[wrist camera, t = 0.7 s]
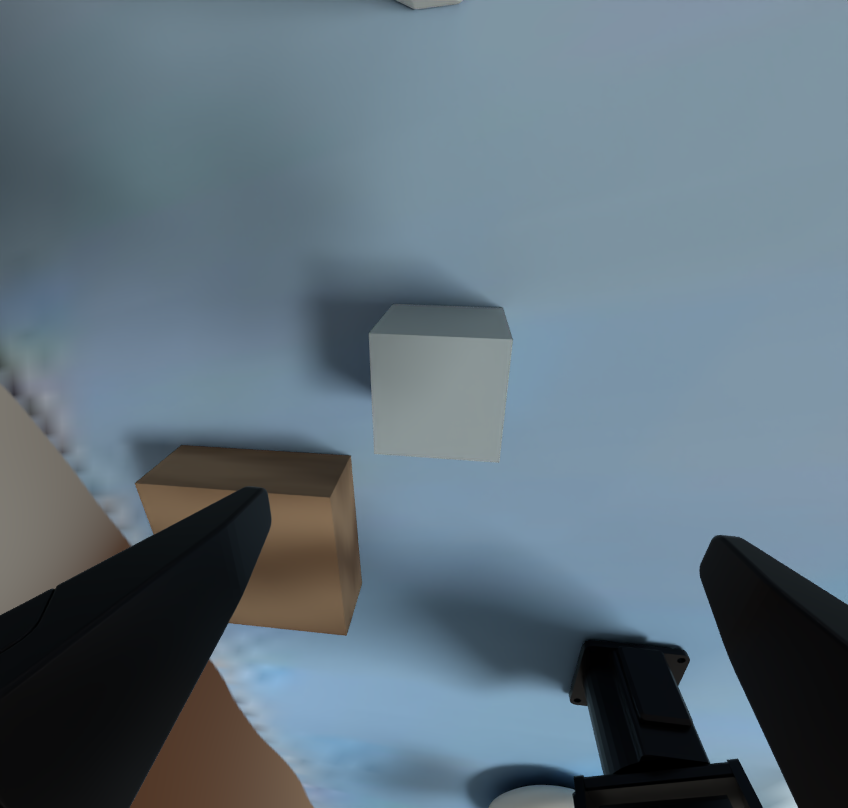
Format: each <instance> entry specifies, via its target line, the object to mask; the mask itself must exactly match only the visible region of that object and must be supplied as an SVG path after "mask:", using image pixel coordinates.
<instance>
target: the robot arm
mask: <svg viewBox="0 0 848 808" xmlns="http://www.w3.org/2000/svg"><path fill="white" fill-rule="evenodd" d="M271 522H272V517H271V510H270V504H269V497H268V493H267V490H266V489H265V488H262V487H253V486H246V487H243V488H241V489H239V490H237V491H236V492H234V493H232V494H230V495H228V496H226V497H224V498H222V499H220V500H219V501H217V502H215V503H213V504H211V505H209V506H207V507H205V508H203V509H201V510H200V511H198V512H196V513H194V514H192V515H190V516H188V517H186V518H184V519H183V520H181V521H179V522H177V523H175V524H173V525H171V526H169V527H167V528H165V529H164V530H162V531H160V532H158V533H156V534H154V535H152V536H150V537H148V538H147V539H145V540H143V541H141V542H139V543H137V544H135V545H133V546H131V547H129V548H128V549H126V550H124V551H122V552H120V553H118V554H116V555H114V556H112V557H111V558H109V559H107V560H105V561H103V562H101V563H99V564H97V565H95V566H94V567H92V568H90V569H88V570H86V571H84V572H82V573H80V574H78V575H76V576H75V577H73V578H71V579H69V580H67V581H65V582H63V583H61V584H59V585H58V586H57V587H56V589H50V590H48V591H46V592H44V593H42V594H40V595H38V596H36V597H35V598H33V599H31V600H29V601H27V602H25V603H23V604H21V605H19V606H17V607H15V608H13V609H12V610H10V611H8V612H6V613H4V614H2V615H0V808H130V806H131V804H132V802H133V800H134V798H135V797H136V795H137V793H138V791H139V789H140V787H141V785H142V783H143V782H144V780H145V778H146V776H147V774H148V772H149V770H150V768H151V767H152V765H153V763H154V761H155V759H156V757H157V755H158V754H159V752H160V750H161V748H162V746H163V744H164V742H165V740H166V739H167V737H168V735H169V733H170V731H171V729H172V727H173V726H174V724H175V722H176V720H177V718H178V716H179V714H180V712H181V711H182V709H183V707H184V705H185V703H186V701H187V699H188V697H189V696H190V694H191V692H192V690H193V688H194V686H195V684H196V682H197V681H198V679H199V677H200V675H201V673H202V671H203V669H204V668H205V666H206V664H207V662H208V660H209V658H210V656H211V655H212V653H213V651H214V649H215V647H216V645H217V643H218V642H219V640H220V638H221V636H222V634H223V632H224V630H225V628H226V627H227V625H228V623H229V621H230V619H231V617H232V615H233V614H234V612H235V610H236V608H237V606H238V604H239V602H240V600H241V598H242V596H243V594H244V591H245V589H246V587H247V584H248V582H249V580H250V577H251V575H252V572H253V570H254V567H255V565H256V562H257V560H258V558H259V555H260V553H261V550H262V548H263V545H264V543H265V540H266V538H267V536H268V533H269V531H270V528H271ZM699 571H700V578H701V581H702V584H703V587H704V590H705V593H706V595H707V598H708V601H709V604H710V607H711V610H712V612H713V615H714V618H715V621H716V624H717V627H718V629H719V632H720V635H721V638H722V641H723V644H724V646H725V649H726V651H727V654H728V657H729V659H730V661H731V664H732V666H733V668H734V670H735V673H736V675H737V677H738V679H739V681H740V684H741V686H742V688H743V690H744V692H745V694H746V696H747V699H748V701H749V703H750V705H751V707H752V709H753V711H754V714H755V716H756V718H757V720H758V722H759V724H760V727H761V729H762V731H763V733H764V735H765V737H766V739H767V742H768V744H769V746H770V748H771V750H772V752H773V755H774V757H775V759H776V761H777V763H778V765H779V767H780V770H781V772H782V774H783V776H784V778H785V780H786V783H787V785H788V787H789V789H790V791H791V793H792V795H793V798H794V800H795V802H796V804H797V806H798V808H848V605H847V604H846V603H844V602H842V601H841V600H839V599H838V598H836V597H835V596H833V595H831V594H830V593H828V592H827V591H825V590H823V589H822V588H820V587H819V586H817V585H816V584H814V583H812V582H811V581H809V580H808V579H806V578H804V577H803V576H801V575H800V574H798V573H796V572H795V571H793V570H792V569H790V568H789V567H787V566H785V565H784V564H782V563H781V562H779V561H777V560H776V559H774V558H773V557H771V556H770V555H768V554H766V553H765V552H763V551H762V550H760V549H758V548H757V547H755V546H754V545H752V544H751V543H749V542H747V541H746V540H744V539H742V538H740V537H735V536H726V535H717V536H715V537H714V538H713V539H712V540H711V542H710V544H709V547H708V549H707V551H706V553H705V555H704V558H703V560H702V562H701V564H700V569H699ZM689 662H690V658H689V656H688V654H687V652H686V651H684V650H681V649H672V648H663V647H653V646H644V645H635V644H625V643H616V642H606V641H597V640H587V641H585V642H584V643H583V645H582V649H581V652H580V656H579V660H578V663H577V667H576V670H575V674H574V677H573V681H572V684H571V688H570V692H569V698H570V702H571V703H572V704H575V705H583V706H588V709H589V714H590V718H591V722H592V727H593V731H594V735H595V740H596V744H597V748H598V753H599V757H600V761H601V766H602V770H603V774H604V775H601V776H592V777H584V776H583V775H581V776H574V785H575V792H574V793H573V794H572V796H573V801H574V808H763V807H762V805H761V803H760V801H759V799H758V797H757V795H756V793H755V791H754V789H753V787H752V785H751V783H750V781H749V779H748V778H747V776H746V774H745V772H744V770H743V768H742V766H741V764H740V762H739V760H738V759H730V760H727V762H724V763H714V764H710V762H709V759H708V757H707V755H706V752H705V750H704V748H703V745H702V743H701V741H700V738H699V736H698V734H697V731H696V729H695V727H694V724H693V721H692V718H691V716H690V713H689V711H688V709H687V706H686V704H685V702H684V699H683V697H682V695H681V692H680V690H679V688H678V685H679V683H680V681H681V679H682V677H683V675H684V672H685V670H686V668H687V666H688V664H689Z"/></svg>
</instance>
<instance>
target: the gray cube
mask: <svg viewBox="0 0 848 808" xmlns="http://www.w3.org/2000/svg"><path fill="white" fill-rule="evenodd" d="M512 343H513V338H512V335H511V332H510V329H509V325H508V322H507V319H506V316H505V312H504V309H503V308H495V307H467V306H439V305H412V304H392V306H391V307H390V308H389V309H388V311H387V312H386V313H385V314H384V315H383V317H382V318H381V319H380V320H379V321H378V323H377V324H376V325H375V326H374V328H373V329H372V330H371V331H370V332H369V349H370V371H371V392H372V414H373V435H374V454H384V455H398V456H412V457H427V458H441V459H455V460H470V461H484V462H498V463H499V460H500V451H501V442H502V433H503V424H504V415H505V406H506V397H507V388H508V379H509V370H510V361H511V352H512Z"/></svg>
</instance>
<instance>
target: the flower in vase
mask: <svg viewBox="0 0 848 808" xmlns="http://www.w3.org/2000/svg"><path fill="white" fill-rule="evenodd" d="M574 792H575V790H574V789H570V788H566V787H561V786H553V785H531V786H525V787H520V788H516V789H513V790H511V791H508V792H505V793H503V794H501V795H499V796H498V797H497V798H495V799H494V800H493V801H492V802H491V804H490V806H489V808H574V801H573V796H572V794H573V793H574Z"/></svg>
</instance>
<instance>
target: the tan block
mask: <svg viewBox="0 0 848 808" xmlns="http://www.w3.org/2000/svg"><path fill="white" fill-rule="evenodd" d="M135 485H136V488H137V491H138V493H139V496H140V499H141V501H142V504H143V507H144V510H145V512H146V515H147V518H148V520H149V523H150V526H151V528H152V531H153V534H156V533H158V532H160V531H162V530H164V529H165V528H167V527H169V526H171V525H173V524H175V523H177V522H179V521H181V520H183V519H184V518H186V517H188V516H190V515H192V514H194V513H196V512H198V511H200V510H201V509H203V508H205V507H207V506H209V505H211V504H213V503H215V502H217V501H219V500H220V499H222V498H224V497H226V496H228V495H230V494H232V493H234V492H236V491H237V490H239V489H241V488H243V487H246V486H253V487H262V488H265V489H266V490H267V493H268V497H269V504H270V510H271V517H272V522H271V528H270V531H269V533H268V536H267V538H266V540H265V543H264V545H263V548H262V550H261V553H260V555H259V558H258V560H257V562H256V565H255V567H254V570H253V572H252V575H251V577H250V580H249V582H248V584H247V587H246V589H245V591H244V594H243V596H242V598H241V600H240V602H239V604H238V606H237V608H236V610H235V612H234V614H233V615H232V617H231V619H230V621H229V623H233V624H242V625H252V626H261V627H270V628H280V629H289V630H298V631H308V632H317V633H327V634H336V635H345V636H347V633H348V629H349V626H350V623H351V619H352V616H353V612H354V609H355V606H356V602H357V599H358V595H359V592H360V589H361V585H362V579H361V567H360V556H359V544H358V533H357V521H356V510H355V499H354V487H353V476H352V464H351V456H349V455H333V454H317V453H301V452H285V451H269V450H253V449H237V448H221V447H205V446H189V445H181V446H180V447H178V448H177V449H176V450H175V451H174V452H172V453H171V454H170V455H169V456H167V457H166V458H165V459H164V460H163V461H161V462H160V463H159V464H158V465H156V466H155V467H154V468H153V469H152V470H150V471H149V472H148V473H147V474H145V475H144V476H143V477H142V478H141V479H139V480H138V481H137V482H136V483H135Z"/></svg>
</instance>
